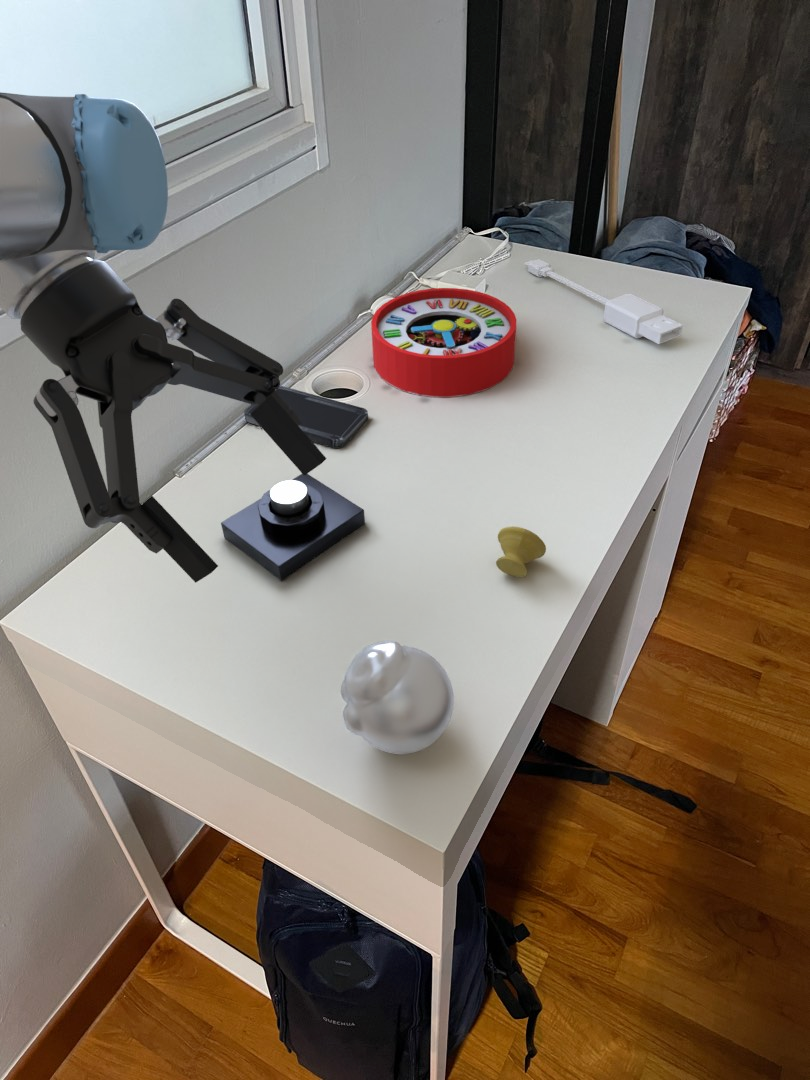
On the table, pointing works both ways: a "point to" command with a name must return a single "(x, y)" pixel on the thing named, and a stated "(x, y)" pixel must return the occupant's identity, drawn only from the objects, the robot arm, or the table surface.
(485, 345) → the toy clock
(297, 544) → the panel
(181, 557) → the robot arm
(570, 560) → the table surface
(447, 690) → the ghost figurine
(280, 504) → the stove button
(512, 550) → the knob
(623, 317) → the charging cable
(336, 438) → the phone
